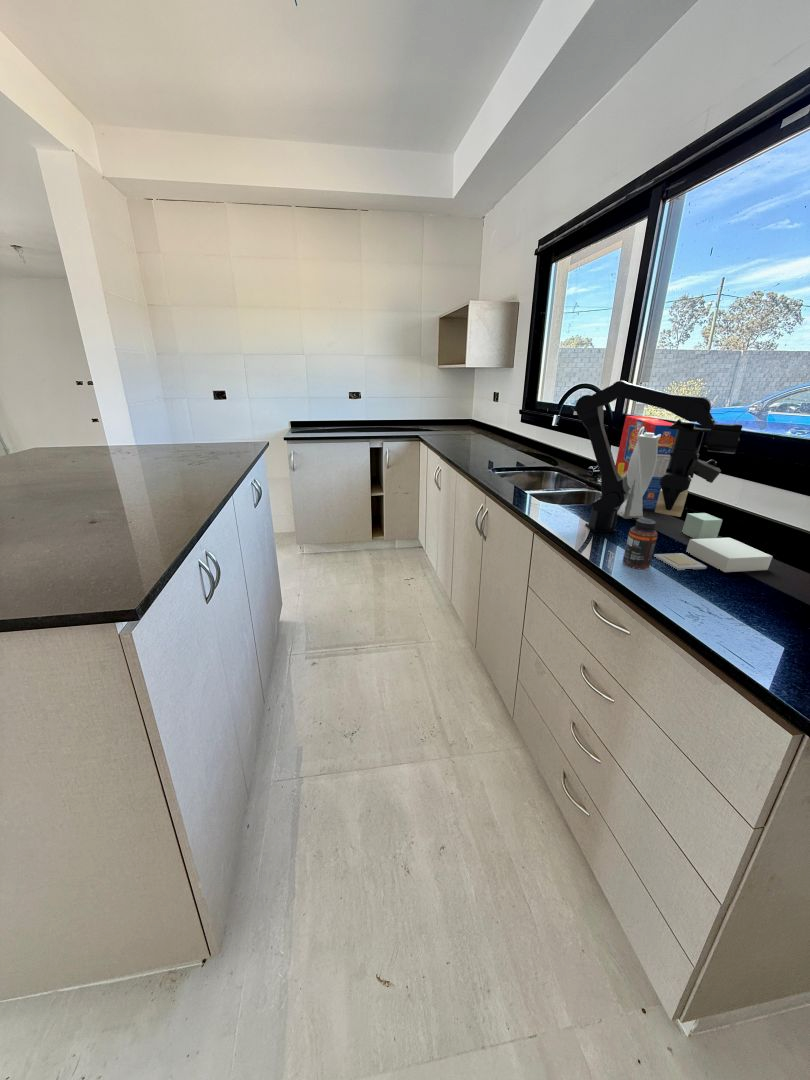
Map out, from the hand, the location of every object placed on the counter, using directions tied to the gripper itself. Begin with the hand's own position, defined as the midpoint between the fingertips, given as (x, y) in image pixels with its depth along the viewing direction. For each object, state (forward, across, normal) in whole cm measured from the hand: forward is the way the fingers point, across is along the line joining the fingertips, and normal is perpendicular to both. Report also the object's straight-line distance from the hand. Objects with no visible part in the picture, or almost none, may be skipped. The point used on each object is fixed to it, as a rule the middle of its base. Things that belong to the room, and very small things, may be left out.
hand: (669, 507), depth 115 cm
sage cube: (+10, +13, -8) cm, 18 cm away
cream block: (+10, -4, -15) cm, 19 cm away
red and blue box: (+10, +44, +14) cm, 47 cm away
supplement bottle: (+10, -21, +3) cm, 24 cm away
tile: (+10, -13, -6) cm, 17 cm away
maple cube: (+1, 0, 0) cm, 1 cm away
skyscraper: (+10, +21, +11) cm, 26 cm away
